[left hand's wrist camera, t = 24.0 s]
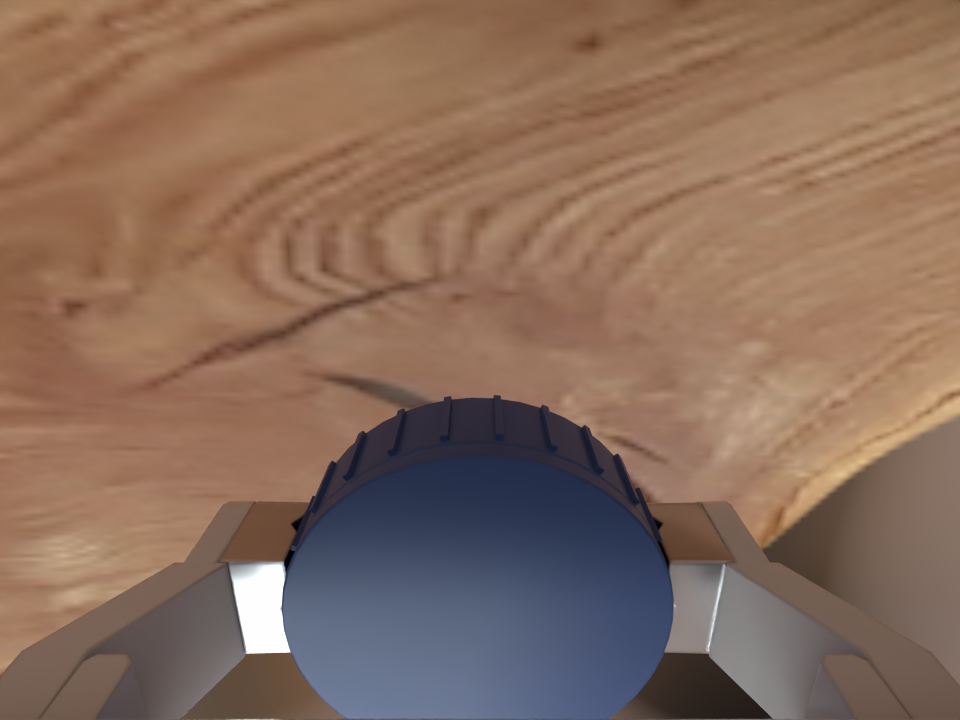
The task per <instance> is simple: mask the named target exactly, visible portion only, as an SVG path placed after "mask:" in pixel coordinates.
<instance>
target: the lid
mask: <svg viewBox="0 0 960 720" xmlns="http://www.w3.org/2000/svg"><path fill="white" fill-rule="evenodd" d="M660 541H662V537H661V535H660V533H659V531H658V528H657V526H656V524H655V522H654V519H653V517H652V515H651V513H650V510H649V508H648V506H647V504H646V501H645V499H644V497H643V495H642V492H641V490H640V488H636V489H634V486H633V484H632V482H631V479H630V477H629V475H628V472H627V470H626V468H625V465H624V463H623V461H622V458H621V457H620V456H619V454H616V455H613V454H612V453H611V452H610V451H609V450H608V449H607V448H606V447H605V446H604V445H603V444H602V443H601V442H600V441H599V440H597V439H596V438H595V437H593V436H592V434H591V431H590V428H588V427H587V426H586V425H584V426H583V427H582V428H581V427H579V426H578V425H576V424H574V423H573V422H571V421H569V420H567V419H566V418H564V417H562V416H559V415H557V414H554V413H552V412H550V411H549V408H548V407H547V406H544V405H542V406H541V408H539V407H535V406H532V405H528V404H525V403H521V402H515V401H509V400H502V399H501V396H498V395H494V398H465V399H453V400H452V399H451V396H449V397H444V401H441V402H436V403H431V404H427V405H423V406H420V407H418V408H415V409H412V410H409V411H406V412H405V410H404V409H401V410H398V412H397V416H395V417H393V418H391V419H389V420H387V421H384V422H383V423H381V424H379V425H378V426H376V427H375V428H373V429H372V430H370V431H369V432H367V433H365V432H364V431H362V432H360V433H359V434H358V436H357V439H356V442H355V443H354V444H353V445H352V446H351V447H349V448H348V450H347V451H346V452H345V453H344V454H343V455H342V457H341V458H340V459H339V460H338V461H337V462H336V463H335V462H333V461H331V463H330V464H329V466H328V468H327V470H326V473H325V475H324V477H323V480H322V482H321V484H320V487H319V489H318V491H317V493H316V496H312V499H311V501H310V503H309V506H308V508H307V510H306V512H305V515H304V517H303V519H302V521H301V524H300V526H299V528H298V531H297V533H296V535H295V537H294V540H293V542H292V544H291V547H290V550H292V551H295V552H294V554H293V556H292V559H291V561H290V564H289V566H288V568H287V572H286V576H285V581H284V585H283V590H282V606H281V610H282V619H283V628H284V633H285V636H286V640H287V643H288V647H289V650H290V652H291V654H292V656H293V658H294V660H295V663H296V665H297V667H298V669H299V670H300V671H301V673H302V675H303V676H304V678H305V679H306V681H307V682H308V684H309V685H310V686H311V687H312V688H313V689H314V691H315V692H316V693H317V694H318V695H319V696H320V697H321V699H322V700H324V701H325V702H326V703H327V704H328V705H329V706H330V707H332V708H333V709H334V710H335V711H336V712H337V713H339V714H340V715H341V716H343V717H344V718H346V719H609V718H610V717H611V716H613V715H614V714H615V713H617V712H618V711H619V710H620V709H622V708H623V707H624V706H625V705H626V704H627V703H628V702H629V701H630V700H631V699H633V697H635V695H637V694H638V693H639V692H640V690H641V689H642V688H643V686H644V685H645V684H646V683H647V681H648V680H649V679H650V677H651V676H652V675H653V673H654V671H655V669H656V667H657V666H658V664H659V662H660V660H661V659H662V656H663V654H664V651H665V649H666V646H667V643H668V641H669V637H670V632H671V627H672V622H673V608H674V597H673V589H672V582H671V577H670V574H669V571H668V568H667V564H666V561H665V558H664V556H663V554H662V551H661V549H660V547H659V545H658V542H660Z"/></svg>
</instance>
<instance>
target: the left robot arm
mask: <svg viewBox="0 0 960 720" xmlns="http://www.w3.org/2000/svg"><path fill="white" fill-rule="evenodd" d="M646 504H647V506H648V508H649V510H650V513H651V515H652V517H653V519H654V522H655V524H656V526H657V528H658V531H659V533H660V535H661V537H662V541H660V542H658V545H659V547H660V549H661V551H662V554H663V556H664V558H665V561H666V564H667V568H668V571H669V574H670V577H671V582H672V589H673V597H674V608H673V622H672V627H671V632H670V637H669V641H668V643H667V646H666V649H665V651H664V652H672V653H707V654H709V657H710V658H711V659H712V660H714V662H716V663H717V664H718V665H719V666H720V667H721V668H722V669H723V670H724V671H725V672H726V673H727V674H728V675H729V676H730V677H731V678H732V679H733V680H734V681H735V682H736V683H737V684H738V685H739V686H740V687H741V688H742V689H743V690H744V691H745V692H746V693H747V694H748V695H750V696H751V697H752V698H753V699H754V700H755V701H756V702H757V703H758V704H759V705H760V706H761V707H762V708H763V709H764V710H765V711H766V712H767V713H768V714H769V715H770V716H771V717H772V718H773V719H180V718H181V717H182V716H184V715H185V714H186V713H187V712H188V711H189V710H190V709H191V708H192V707H193V706H194V705H195V704H196V703H197V702H198V701H199V700H200V699H201V698H202V697H203V696H204V695H205V694H206V693H208V692H209V691H210V690H211V689H212V688H213V687H214V686H215V685H216V684H217V683H218V682H219V681H220V680H221V679H222V678H223V677H224V676H225V675H226V674H227V673H228V672H229V671H230V670H231V669H233V668H234V667H235V666H236V665H237V664H238V663H239V662H240V661H241V660H242V659H243V658H244V657H245V654H247V653H281V652H290V650H289V647H288V643H287V640H286V636H285V633H284V628H283V619H282V610H281V606H282V590H283V585H284V581H285V576H286V572H287V568H288V566H289V564H290V561H291V559H292V556H293V554H294V552H295V551H292V550H290V547H291V544H292V542H293V540H294V537H295V535H296V533H297V531H298V528H299V526H300V524H301V521H302V519H303V517H304V515H305V512H306V510H307V508H308V506H309V503H303V502H254V501H230V502H228V503H225V504H224V505H223V506H222V507H221V508H220V510H219V511H218V513H217V514H216V516H215V517H214V519H213V520H212V522H211V523H210V525H209V526H208V528H207V529H206V531H205V532H204V534H203V535H202V536H201V538H200V539H199V541H198V542H197V544H196V545H195V547H194V548H193V550H192V551H191V553H190V554H189V556H188V557H187V559H186V560H185V562H184V563H174V564H172V565H170V566H168V567H167V568H165V569H163V570H161V571H160V572H158V573H156V574H155V575H153V576H151V577H149V578H148V579H146V580H144V581H142V582H141V583H139V584H137V585H135V586H134V587H132V588H130V589H129V590H127V591H125V592H123V593H122V594H120V595H118V596H116V597H115V598H113V599H111V600H110V601H108V602H106V603H104V604H103V605H101V606H99V607H97V608H96V609H94V610H92V611H90V612H89V613H87V614H85V615H84V616H82V617H80V618H78V619H77V620H75V621H73V622H71V623H70V624H68V625H66V626H64V627H63V628H61V629H59V630H58V631H56V632H54V633H52V634H51V635H49V636H47V637H45V638H44V639H42V640H40V641H39V642H37V643H35V644H33V645H32V646H30V647H28V648H26V649H25V650H23V651H22V652H21V653H20V654H19V655H18V656H17V657H16V658H15V660H14V661H13V662H12V663H11V664H10V665H9V666H8V668H7V669H6V670H5V671H4V672H3V673H2V675H1V676H0V720H960V685H959V684H958V683H957V682H956V680H955V679H954V678H953V677H952V676H951V675H950V673H949V672H948V671H947V670H946V669H945V668H944V666H943V665H942V664H941V663H940V662H939V660H938V659H937V658H936V657H935V656H934V655H933V653H932V652H930V651H929V650H927V649H925V648H924V647H922V646H920V645H918V644H917V643H915V642H913V641H912V640H910V639H908V638H906V637H905V636H903V635H901V634H900V633H898V632H896V631H894V630H893V629H891V628H889V627H888V626H886V625H884V624H883V623H881V622H879V621H877V620H876V619H874V618H872V617H871V616H869V615H867V614H865V613H864V612H862V611H860V610H858V609H857V608H855V607H853V606H852V605H850V604H848V603H847V602H845V601H843V600H841V599H840V598H838V597H836V596H835V595H833V594H831V593H830V592H828V591H826V590H824V589H823V588H821V587H819V586H818V585H816V584H814V583H812V582H811V581H809V580H807V579H806V578H804V577H802V576H800V575H799V574H797V573H795V572H794V571H792V570H790V569H788V568H787V567H785V566H783V565H782V564H780V563H770V562H769V561H768V559H767V558H766V556H765V555H764V553H763V552H762V550H761V549H760V547H759V546H758V544H757V543H756V541H755V540H754V538H753V537H752V535H751V534H750V532H749V531H748V529H747V528H746V526H745V525H744V523H743V522H742V520H741V519H740V517H739V516H738V515H737V513H736V512H735V510H734V509H733V507H732V506H731V504H730V503H728V502H726V501H712V502H697V503H646Z"/></svg>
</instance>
